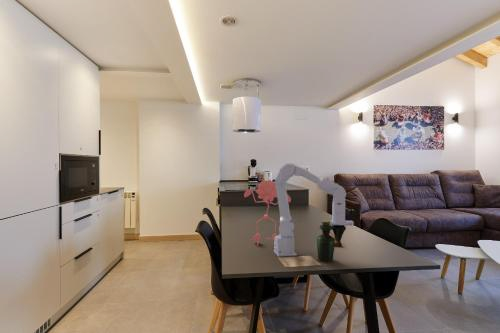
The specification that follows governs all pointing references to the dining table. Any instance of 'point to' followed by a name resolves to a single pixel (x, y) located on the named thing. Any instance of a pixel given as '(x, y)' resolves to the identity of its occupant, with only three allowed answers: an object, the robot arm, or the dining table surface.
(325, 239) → the potion bottle
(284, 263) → the placemat
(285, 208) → the robot arm
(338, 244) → the sunglasses case
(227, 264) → the dining table surface
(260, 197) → the figurine
